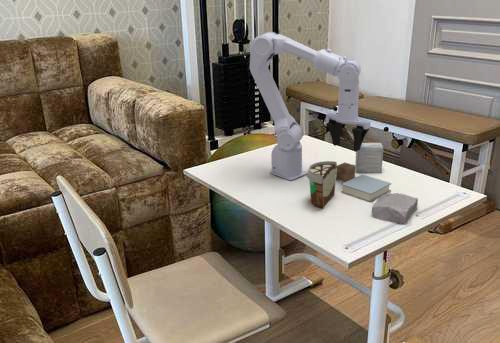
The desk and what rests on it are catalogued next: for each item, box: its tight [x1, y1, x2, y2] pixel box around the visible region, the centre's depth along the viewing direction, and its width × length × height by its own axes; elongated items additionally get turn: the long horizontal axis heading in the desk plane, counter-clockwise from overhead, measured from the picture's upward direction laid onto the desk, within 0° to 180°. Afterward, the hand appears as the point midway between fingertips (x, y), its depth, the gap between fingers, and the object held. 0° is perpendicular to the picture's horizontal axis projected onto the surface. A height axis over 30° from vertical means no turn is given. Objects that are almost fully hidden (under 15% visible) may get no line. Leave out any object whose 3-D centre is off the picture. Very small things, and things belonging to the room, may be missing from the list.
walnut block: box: [335, 162, 356, 183], centre depth 151 cm, size 4×4×4 cm
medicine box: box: [354, 142, 384, 174], centre depth 156 cm, size 8×4×9 cm, turn 84°
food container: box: [306, 160, 338, 210], centre depth 137 cm, size 12×6×10 cm, turn 152°
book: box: [341, 173, 392, 203], centre depth 142 cm, size 10×10×2 cm
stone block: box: [371, 192, 419, 225], centre depth 130 cm, size 12×5×10 cm
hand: (346, 147), depth 148 cm, fingers open, 7 cm apart
